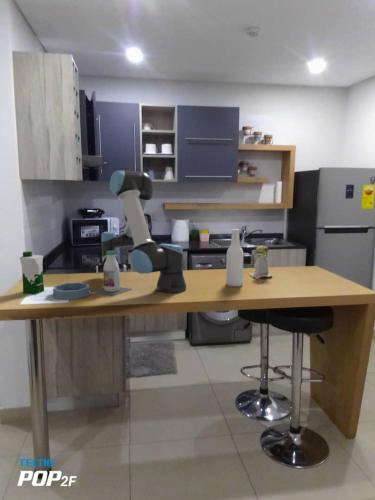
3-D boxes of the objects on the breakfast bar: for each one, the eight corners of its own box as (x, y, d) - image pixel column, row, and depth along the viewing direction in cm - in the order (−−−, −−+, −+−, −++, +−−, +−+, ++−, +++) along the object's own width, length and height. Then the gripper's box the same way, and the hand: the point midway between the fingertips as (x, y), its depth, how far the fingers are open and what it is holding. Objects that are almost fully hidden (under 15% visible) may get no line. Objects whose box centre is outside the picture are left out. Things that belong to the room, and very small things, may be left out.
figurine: (276, 278, 208) (277, 246, 206) (256, 279, 204) (257, 247, 201) (265, 273, 220) (266, 244, 217) (246, 275, 216) (247, 244, 213)
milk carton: (31, 289, 183) (28, 250, 179) (47, 290, 181) (44, 251, 178) (19, 294, 174) (17, 253, 171) (36, 295, 172) (34, 254, 169)
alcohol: (245, 285, 192) (247, 229, 187) (233, 287, 187) (234, 230, 182) (235, 281, 199) (236, 228, 194) (222, 284, 195) (223, 228, 190)
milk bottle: (113, 287, 186) (111, 249, 183) (122, 290, 181) (121, 250, 178) (100, 290, 180) (99, 251, 177) (110, 293, 175) (109, 252, 172)
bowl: (98, 292, 177) (98, 285, 176) (70, 301, 162) (69, 293, 161) (73, 287, 186) (72, 280, 185) (44, 296, 171) (44, 288, 170)
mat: (131, 289, 183) (131, 289, 183) (112, 296, 171) (112, 295, 171) (111, 285, 190) (110, 285, 190) (91, 291, 178) (91, 291, 178)
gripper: (132, 268, 200) (137, 276, 180) (86, 270, 194) (85, 279, 173) (132, 254, 199) (136, 261, 178) (85, 256, 193) (84, 264, 172)
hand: (111, 270), depth 176 cm, fingers open, 13 cm apart
